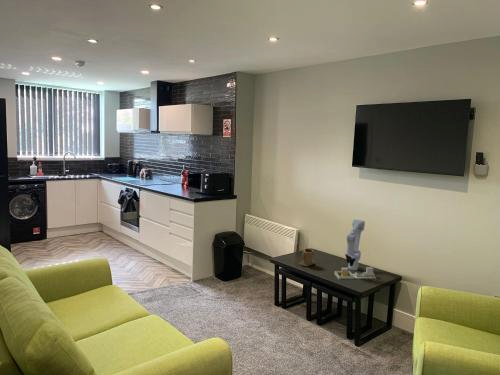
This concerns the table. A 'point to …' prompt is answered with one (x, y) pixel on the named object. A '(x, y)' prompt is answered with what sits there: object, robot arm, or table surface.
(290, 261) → the table surface
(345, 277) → the tray
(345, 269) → the block
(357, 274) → the fuse block
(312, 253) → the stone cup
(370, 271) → the block
